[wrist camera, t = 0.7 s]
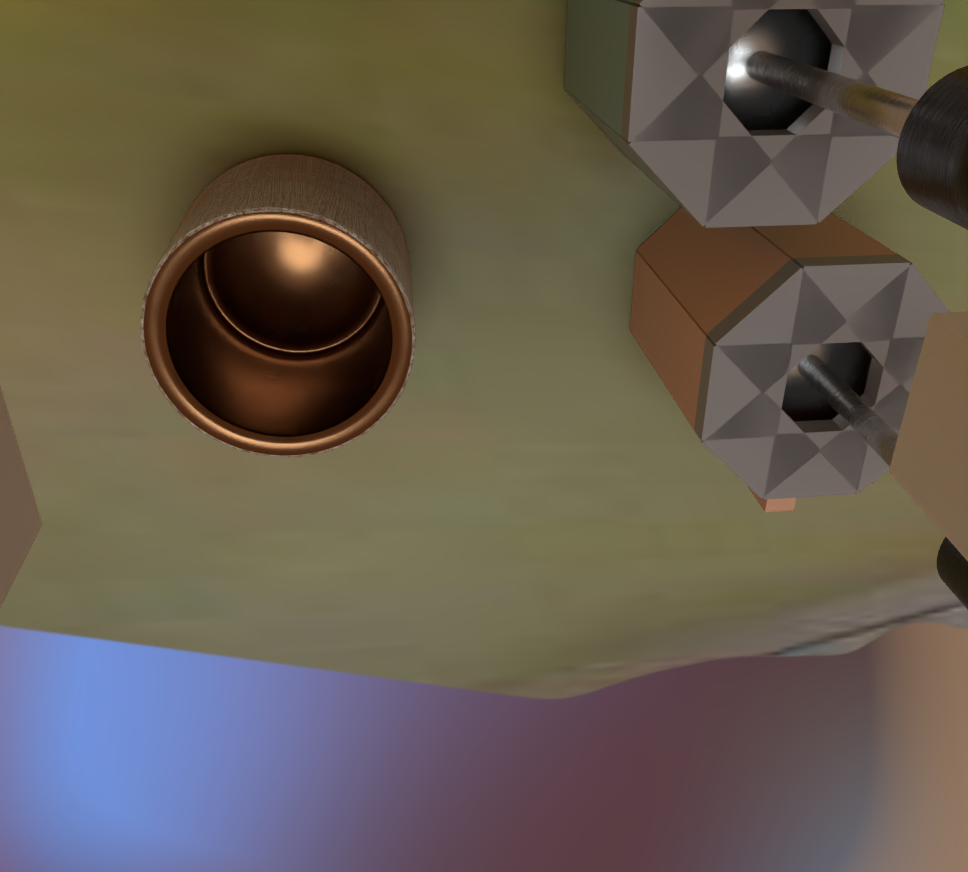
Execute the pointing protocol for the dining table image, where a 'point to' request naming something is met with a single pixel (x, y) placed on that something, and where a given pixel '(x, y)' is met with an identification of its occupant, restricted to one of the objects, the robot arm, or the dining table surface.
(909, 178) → the dark brown cylinder-topped rod
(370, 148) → the dining table surface
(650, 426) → the dining table surface
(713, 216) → the pot teal
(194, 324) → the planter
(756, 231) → the pot terracotta
